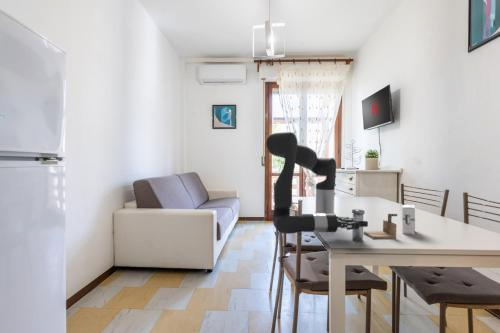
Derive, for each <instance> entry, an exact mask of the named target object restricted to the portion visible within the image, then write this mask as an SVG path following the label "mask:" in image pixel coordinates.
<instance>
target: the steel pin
mask: <svg viewBox="0 0 500 333" xmlns="http://www.w3.org/2000/svg"><path fill="white" fill-rule="evenodd" d="M365 211H366V210H364V209H359V208H354V209H351V213H352V218H353V221H364V214H365ZM355 226H356V224H355ZM351 234H352V237H351V238H352V240H353V241H355V242H363V240H364V227H359V229H352V232H351Z"/></svg>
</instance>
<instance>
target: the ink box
mask: <svg viewBox="0 0 500 333" xmlns="http://www.w3.org/2000/svg"><path fill="white" fill-rule="evenodd" d="M401 209H402V210H401V211H402V213H401V214H402V217H401V218H402V224H401V225H402V232H401V233H402V234H405V235H412V236H415V235H416V234H415V233H416V205H413V204H404V205H403V204H402V207H401Z"/></svg>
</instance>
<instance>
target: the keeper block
mask: <svg viewBox="0 0 500 333" xmlns="http://www.w3.org/2000/svg"><path fill="white" fill-rule="evenodd" d="M392 217H398V213H387V219H382V230H379V231H375V230H374V231H373V230H372V231H371V230H369V231H365V230H363V235H365V236H367V237H369V238H371V239H372V240H374V239H375V240H377V239H378V240H384V239H387V240H389V239H390V240H391V239H395V240H396V239H397V223H394V222H392Z"/></svg>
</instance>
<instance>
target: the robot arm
mask: <svg viewBox="0 0 500 333" xmlns="http://www.w3.org/2000/svg"><path fill="white" fill-rule="evenodd" d="M265 145H266V149H267V151H268V152H269V153H270V154H271V155H272V156H275V157H279V158H283V159H284V163H283V167H282V169H281V172H280V174H279V175H278V177H277V179H276V182H275V184H274V189H273V190H274V191H273V192H274V193H273V194H274V196H273V197H274V201H273V203H274V207H273V213H272V215H273V216H272V222H273V223H272V224H273V226H274V228H275V229H276V231H278V232H279V233H280V234H286V235H289V234H291V235H292V234H296V233H301V232H302V233H336V232H337V231H338V229H339V228H340V229H342V230H343V229H344V230H345V229H346V231H349V230H353V229H359V227H363V228H364V227H365V228H368V227H369V222H368V221H367V220H363V221H353V217H349V216H339V215H336V214H335V186H336V178H337V162H336V160H335V158H333V157H318V155H317V153H316V151H315V150H313V148H310V147H309V146H307V145H304V144H299V143H298V139H297V136H296V134H295V133H294V132H292V131H286V132H285V131H283V132H275V133H272V134H270V135H269V136H268V137H267V139H266V141H265ZM296 165H297V166H300V167H302V168H304V169H306V170H309V171H311V172H312V173H313V174H315V175H316V176H321V177H322V176H325V178H324V180H322V181H319V182H317V183H316V184H315V213H303V214H302V213H301V214H299V215H291V207H292V206H293V205H292V204H293V180H294V173H295V172H294V171H295V168H296ZM355 224H356V226H355Z"/></svg>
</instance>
